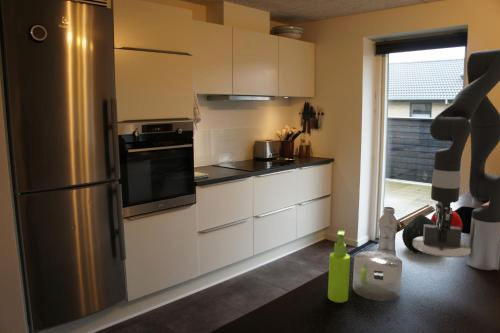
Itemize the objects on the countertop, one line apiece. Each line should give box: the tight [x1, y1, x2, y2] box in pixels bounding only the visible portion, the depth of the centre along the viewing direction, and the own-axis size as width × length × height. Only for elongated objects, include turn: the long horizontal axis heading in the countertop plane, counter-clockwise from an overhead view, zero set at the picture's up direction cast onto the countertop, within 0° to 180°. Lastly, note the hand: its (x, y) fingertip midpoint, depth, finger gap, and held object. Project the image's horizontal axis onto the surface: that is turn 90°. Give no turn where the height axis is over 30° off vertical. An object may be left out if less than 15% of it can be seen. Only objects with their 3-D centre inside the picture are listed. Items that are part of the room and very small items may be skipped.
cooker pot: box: [352, 250, 403, 302], centre depth 127 cm, size 14×21×10 cm
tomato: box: [430, 210, 463, 231], centre depth 174 cm, size 13×11×14 cm
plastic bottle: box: [376, 206, 398, 257], centre depth 150 cm, size 6×7×20 cm
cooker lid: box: [413, 224, 471, 258], centre depth 125 cm, size 16×16×6 cm
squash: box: [401, 213, 436, 254], centre depth 162 cm, size 14×15×15 cm
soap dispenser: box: [327, 229, 351, 303], centre depth 122 cm, size 6×7×20 cm
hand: (441, 240), depth 125 cm, fingers closed on cooker lid, 3 cm apart
